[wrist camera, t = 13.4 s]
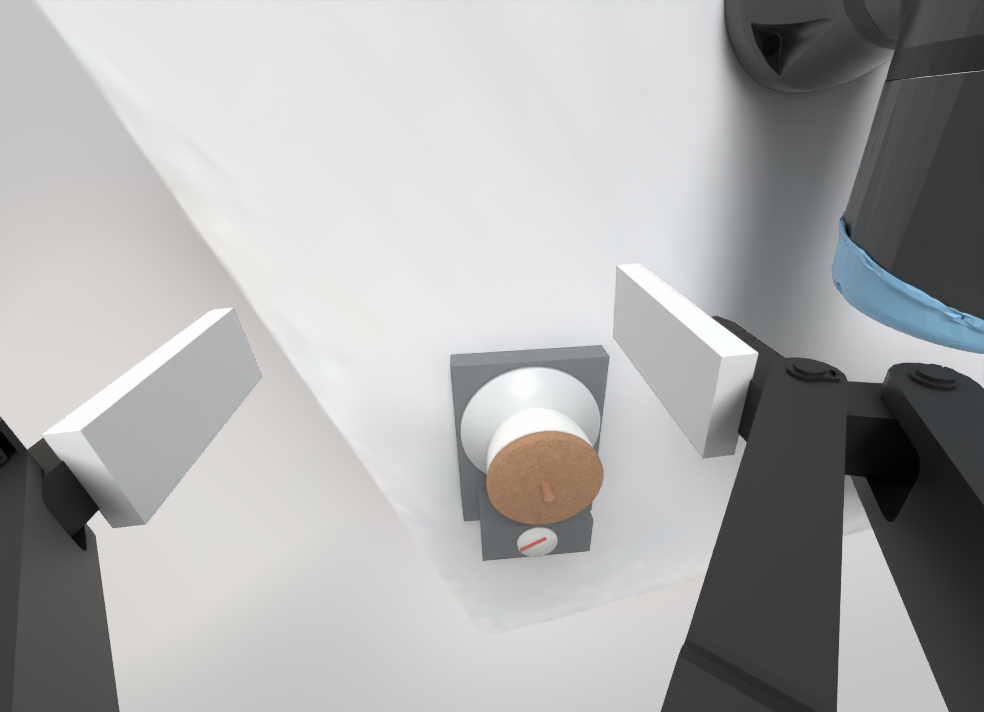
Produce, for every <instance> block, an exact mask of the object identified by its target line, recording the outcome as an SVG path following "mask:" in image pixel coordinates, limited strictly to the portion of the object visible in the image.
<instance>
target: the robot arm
mask: <svg viewBox="0 0 984 712" xmlns="http://www.w3.org/2000/svg"><path fill="white" fill-rule="evenodd" d="M726 21H727V28H728V33H729V38H730V41H731V44H732V47H733V50H734V52H735V54H736V56H737V58H738V60H739V62H740V63H741V65H742V66H743V68H744V69H745V70H746V72H747V73H748V74H749V75H750V76H751V77H752V78H753V79H755V80H756V81H757V82H759V83H760V84H762V85H764V86H765V87H768V88H770V89H773V90H776V91H780V92H787V93H800V92H810V91H819V90H825V89H829V88H833V87H836V86H839V85H842V84H845V83H847V82H850V81H852V80H854V79H856V78H858V77H860V76H862V75H864V74H866V73H868V72H869V71H871V70H873V69H875V68H877V67H879V66H881V65H882V64H884V63H886V62H888V61H890V60H892V61H891V64H890V67H889V71H888V74H887V78H886V80H885V82H884V86H883V89H882V92H881V96H880V99H879V103H878V106H877V109H876V113H875V116H874V120H873V123H872V127H871V130H870V133H869V137H868V140H867V144H866V147H865V150H864V154H863V157H862V160H861V163H860V167H859V170H858V173H857V176H856V179H855V183H854V186H853V189H852V192H851V195H850V199H849V202H848V205H847V208H846V211H845V212H844V214H843V215H842V217H841V218H840V221H839V234H840V236H839V241H838V245H837V250H836V254H835V258H834V262H833V267H832V277H833V281H834V284H835V286H836V287H837V289H838V290H839V292H840V293H841V294H842V295H844V298H845V299H846V301H847V302H849V303H850V304H851V305H852V306H853V307H855V308H856V309H857V310H859V311H860V312H862V313H863V314H865V315H867V316H868V317H870V318H872V319H874V320H876V321H877V322H879V323H882V324H884V325H886V326H888V327H890V328H893V329H895V330H897V331H900V332H902V333H905V334H908V335H910V336H913V337H916V338H919V339H922V340H925V341H928V342H931V343H935V344H938V345H942V346H946V347H950V348H954V349H958V350H963V351H968V352H973V353H979V354H984V71H981V70H984V0H726ZM971 71H979V72H971ZM961 72H969V73H961ZM952 73H960V74H952ZM944 74H951V75H944ZM935 75H942V76H935ZM925 76H933V77H925ZM917 77H923V78H917ZM909 78H914V79H909ZM902 79H905V80H902ZM894 80H896V81H894ZM613 338H614V339H615V341H616V342H617V343H618V345H619V346H620V347H621V349H622V350H623V351H624V353H625V354H626V356H627V357H628V358H629V360H630V361H631V362H632V364H633V365H634V366H635V368H636V369H637V370H638V372H639V373H640V374H641V376H642V377H643V379H644V380H645V381H646V383H647V384H648V385H649V387H650V388H651V389H652V391H653V392H654V393H655V395H656V396H657V397H658V399H659V400H660V402H661V403H662V404H663V406H664V407H665V408H666V410H667V411H668V412H669V414H670V415H671V416H672V418H673V419H674V420H675V422H676V423H677V425H678V426H679V427H680V429H681V430H682V431H683V433H684V434H685V435H686V437H687V438H688V439H689V441H690V442H691V444H692V445H693V446H694V448H695V449H696V450H697V452H698V453H699V454H700V456H701V457H702V458H709V457H718V456H726V455H734V453H735V449H736V444H737V440H738V436H739V434H740V435H741V436H742V437H743V438H744V440H745V441H746V442H747V444H746V447H745V451H744V454H743V457H742V460H741V463H740V467H739V470H738V473H737V476H736V480H735V483H734V486H733V489H732V492H731V496H730V499H729V502H728V505H727V509H726V512H725V515H724V518H723V521H722V525H721V528H720V531H719V534H718V538H717V541H716V544H715V547H714V550H713V554H712V557H711V560H710V563H709V567H708V570H707V573H706V576H705V580H704V583H703V586H702V589H701V592H700V596H699V599H698V602H697V605H696V608H695V612H694V615H693V618H692V621H691V625H690V628H689V631H688V634H687V637H686V640H685V643H684V645H683V646H682V648H681V650H680V653H679V656H678V659H677V662H676V665H675V668H674V671H673V675H672V678H671V681H670V684H669V687H668V690H667V693H666V697H665V700H664V703H663V706H662V709H661V712H837V686H838V685H837V684H838V655H839V624H840V596H841V566H842V565H841V564H842V535H843V505H844V475H850V476H851V478H852V481H853V483H854V485H855V488H856V490H857V493H858V495H859V497H860V500H861V502H862V505H863V507H864V509H865V512H866V514H867V517H868V519H869V521H870V524H871V526H872V529H873V531H874V533H875V536H876V538H877V541H878V543H879V545H880V548H881V550H882V552H883V555H884V557H885V560H886V562H887V564H888V567H889V569H890V572H891V574H892V576H893V579H894V581H895V583H896V586H897V588H898V591H899V593H900V596H901V598H902V600H903V603H904V605H905V607H906V610H907V612H908V615H909V617H910V620H911V622H912V624H913V627H914V629H915V632H916V634H917V636H918V639H919V641H920V643H921V646H922V648H923V651H924V653H925V655H926V658H927V660H928V662H929V665H930V667H931V670H932V672H933V675H934V677H935V679H936V682H937V684H938V687H939V689H940V691H941V694H942V696H943V698H944V701H945V703H946V706H947V708H948V711H949V712H984V388H983V387H982V386H981V385H979V384H978V383H977V382H975V381H974V380H972V379H971V378H970V377H968V376H965V375H963V374H961V373H958V372H956V371H955V370H953V369H951V368H948V367H942V366H940V365H936V364H922V363H901V364H896V365H893V366H892V367H891V368H890V369H889V370H888V372H887V375H886V377H885V380H884V382H883V384H882V383H866V382H850V381H847V378H846V376H845V374H843V373H842V372H841V371H840V370H838V369H837V368H835V367H833V366H830V365H828V364H826V363H823V362H819V361H816V360H812V359H805V358H784V357H783V356H781V355H780V354H778V353H777V352H776V351H774V350H773V349H771V348H770V347H768V346H767V345H766V344H764V343H763V342H761V341H760V340H757V338H756V337H754V336H753V335H751V334H750V333H747V331H746V330H744V329H743V328H742V327H740V326H739V325H737V324H736V323H734V322H732V321H729V320H726V319H724V318H721V317H718V316H714V317H710V316H709V315H707V314H706V313H705V312H703V311H702V310H701V309H699V308H698V307H697V306H695V305H694V304H692V303H691V302H690V301H688V300H687V299H686V298H684V297H683V296H682V295H680V294H679V293H678V292H676V291H675V290H674V289H672V288H671V287H670V286H668V285H667V284H666V283H664V282H663V281H662V280H660V279H659V278H658V277H656V276H655V275H654V274H652V273H651V272H650V271H648V270H647V269H646V268H644V267H643V266H642V265H640V264H639V263H635V264H626V265H617V268H616V288H615V307H614V326H613ZM261 378H262V375H261V372H260V369H259V367H258V365H257V362H256V360H255V357H254V355H253V353H252V350H251V348H250V345H249V343H248V340H247V338H246V335H245V333H244V331H243V328H242V326H241V323H240V321H239V319H238V316H237V314H236V311H235V309H234V308H225V309H216V310H211V311H210V312H208V313H207V314H205V315H204V316H203V317H201V318H200V319H199V320H197V321H196V322H194V323H193V324H192V325H191V326H189V327H188V328H186V329H185V330H184V331H182V332H181V333H179V334H178V335H177V336H175V337H174V338H173V339H171V340H170V341H169V342H167V343H166V344H164V345H163V346H162V347H160V348H159V349H158V350H156V351H155V352H154V353H152V354H151V355H150V356H148V357H147V358H145V359H144V360H143V361H141V362H140V363H139V364H138V365H136V366H135V367H133V368H132V369H131V370H129V371H128V372H126V373H125V374H124V375H122V376H121V377H120V378H118V379H117V380H116V381H114V382H113V383H111V384H110V385H109V386H107V387H106V388H105V389H103V390H102V391H101V392H99V393H98V394H97V395H95V396H94V397H93V398H91V399H90V400H88V401H87V402H86V403H84V404H83V405H82V406H80V407H79V408H77V409H76V410H75V411H73V412H72V413H71V414H69V415H68V416H67V417H65V418H64V419H63V420H61V421H60V422H58V423H57V424H56V425H54V426H53V427H52V428H50V429H49V430H48V431H46V432H45V433H43V434H42V436H43V438H42V439H41V440H40V441H38V442H37V443H36V444H34V445H33V446H32V447H30V448H29V449H28V450H27V449H26V448H25V447H24V446H23V444H22V443H21V442H20V440H19V439H18V438H17V437H16V435H15V434H14V433H13V432H12V430H11V429H10V428H9V427H8V425H7V424H6V423H5V422H4V420H3V419H2V418H1V417H0V712H119V705H118V698H117V691H116V683H115V676H114V668H113V661H112V654H111V646H110V639H109V632H108V624H107V617H106V610H105V602H104V595H103V588H102V580H101V573H100V566H99V558H98V551H97V544H96V536H95V534H94V533H93V531H92V530H91V529H90V527H89V526H88V525H87V524H86V523H87V522H88V521H89V520H90V518H91V517H92V516H93V515H94V514H95V513H96V512H97V511H98V510H99V511H100V512H101V513H102V515H103V516H104V517H105V519H106V520H107V521H108V523H109V524H110V525H111V527H112V528H119V527H127V526H135V525H144V524H147V522H148V521H149V520H150V519H151V517H152V516H153V515H154V514H155V512H156V511H157V510H158V508H159V507H160V506H161V505H162V503H163V502H164V501H165V500H166V498H167V497H168V496H169V494H170V493H171V492H172V491H173V489H174V488H175V487H176V486H177V484H178V483H179V482H180V481H181V479H182V478H183V476H184V475H185V474H186V472H188V470H189V469H190V468H191V467H192V465H193V464H194V463H195V461H196V460H197V459H198V458H199V457H200V455H201V454H202V453H203V451H204V450H205V449H206V448H207V446H208V445H209V444H210V443H211V441H212V440H213V439H214V437H215V436H216V435H217V433H218V432H219V431H220V430H221V429H222V427H223V426H224V425H225V424H226V422H227V421H228V420H229V418H230V417H231V416H232V415H233V413H234V412H235V411H236V410H237V408H238V407H239V406H240V405H241V403H242V402H243V401H244V399H245V398H246V397H247V396H248V394H249V393H250V392H251V390H252V389H253V388H254V387H255V386H256V384H257V383H258V382H259V380H260V379H261Z"/></svg>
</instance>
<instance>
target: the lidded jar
mask: <svg viewBox="0 0 984 712" xmlns="http://www.w3.org/2000/svg"><path fill="white" fill-rule="evenodd" d="M486 472H487V477H486V487H487V493H488V497H489V499H490V501H491V503H492V504H493V506H494V507H495V508H496V509H497V510H498V511H499V512H500V513H501V514H503V515H504V516H506V517H507V518H509V519H511V520H514V521H517V522H520V523H525V524H535V525H539V524H550V523H555V522H559V521H562V520H565V519H567V518H570V517H572V516H574V515H576V514H577V513H579V512H580V511H582V510H583V509H585V508H586V507H587V506H588V505H589V504H590V503H591V502H592V501H593V500H594V498H595V497H596V495H597V494H598V492H599V490H600V488H601V485H602V481H603V468H602V464H601V461H600V459H599V457H598V455H597V453H596V451H595V450H594V449H593V447H592V444H591V442H590V441H589V439H588V437H587V436H586V434H585V433H584V431H583V430H582V429H581V427H580V426H579V425H578V424H577V423H576V422H575V421H574V420H573V419H571V418H570V417H568V416H567V415H565V414H564V413H562V412H559V411H557V410H554V409H550V408H544V407H533V408H527V409H523V410H520V411H518V412H516V413H514V414H512V415H510V416H509V417H508V418H506V419H505V420H504V421H503V422H502V423H501V424H500V425H499V426H498V428H497V429H496V431H495V432H494V434H493V436H492V438H491V441H490V444H489V448H488V452H487V462H486Z"/></svg>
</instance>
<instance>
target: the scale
mask: <svg viewBox="0 0 984 712" xmlns="http://www.w3.org/2000/svg"><path fill="white" fill-rule="evenodd" d="M608 364H609V355H608V354H607V352H606V351H605V349H604V348H603V347H602V345H599V346H583V347H567V348H552V349H536V350H520V351H504V352H488V353H472V354H456V355H451V363H450V367H451V379H452V390H453V402H454V413H455V425H456V436H457V448H458V459H459V471H460V482H461V494H462V505H463V517H464V521H473V520H480V526H481V541H482V555H483V561H486V560H497V559H507V558H518V557H529V556H532V557H537V556H542V555H551V554H562V553H573V552H584V551H589V550H590V542H591V534H592V526H593V518H592V515H591V513H590V510H591V508H592V502H591V503H590V504H589V505H588V506H587V507H586V508H585V509H583V510H582V511H580V512H579V513H577V514H576V515H574V516H572V517H570V518H567V519H565V520H562V521H559V522H555V523H550V524H539V525H535V524H525V523H520V522H517V521H514V520H511V519H509V518H507V517H506V516H504V515H503V514H501V513H500V512H499V511H498V510H497V509H496V508H495V507H494V506H493V504H492V503H491V501H490V499H489V497H488V493H487V487H486V477H487V472H486V462H487V452H488V448H489V444H490V441H491V438H492V436H493V434H494V432H495V431H496V429H497V428H498V426H499V425H500V424H501V423H502V422H503V421H504V420H505V419H506V418H508V417H509V416H510V415H512V414H514V413H516V412H518V411H520V410H523V409H527V408H533V407H544V408H550V409H554V410H557V411H559V412H562V413H564V414H565V415H567V416H568V417H570V418H571V419H573V420H574V421H575V422H576V423H577V424H578V425H579V426H580V427H581V429H582V430H583V431H584V433H585V434H586V436H587V437H588V439H589V441H590V442H591V444H592V447H593V449H594V450H595V451H596V453H597V455H598V449H599V440H600V432H601V423H602V415H603V406H604V398H605V389H606V381H607V372H608Z"/></svg>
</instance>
